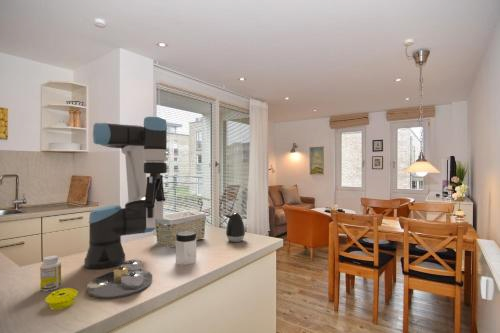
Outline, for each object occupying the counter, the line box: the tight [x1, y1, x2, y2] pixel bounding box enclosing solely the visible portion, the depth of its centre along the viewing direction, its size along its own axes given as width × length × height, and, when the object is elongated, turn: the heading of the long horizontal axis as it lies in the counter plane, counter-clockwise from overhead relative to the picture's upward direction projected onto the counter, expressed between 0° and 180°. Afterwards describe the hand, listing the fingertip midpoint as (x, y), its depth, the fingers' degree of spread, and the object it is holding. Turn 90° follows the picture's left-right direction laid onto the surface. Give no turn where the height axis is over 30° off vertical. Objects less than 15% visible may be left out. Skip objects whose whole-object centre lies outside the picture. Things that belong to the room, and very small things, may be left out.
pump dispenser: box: [225, 212, 246, 243], centre depth 146 cm, size 10×10×15 cm
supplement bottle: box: [39, 255, 62, 292], centre depth 90 cm, size 6×6×10 cm
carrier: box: [86, 259, 153, 300], centre depth 93 cm, size 20×20×6 cm
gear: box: [44, 287, 79, 310], centre depth 80 cm, size 8×4×8 cm
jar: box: [175, 231, 197, 266], centre depth 115 cm, size 9×8×12 cm
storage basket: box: [154, 209, 207, 248], centre depth 147 cm, size 24×16×15 cm
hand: (155, 223), depth 94 cm, fingers open, 13 cm apart
